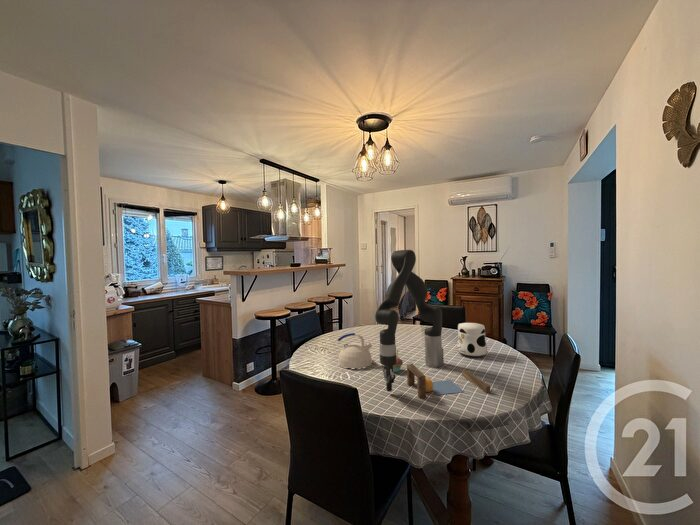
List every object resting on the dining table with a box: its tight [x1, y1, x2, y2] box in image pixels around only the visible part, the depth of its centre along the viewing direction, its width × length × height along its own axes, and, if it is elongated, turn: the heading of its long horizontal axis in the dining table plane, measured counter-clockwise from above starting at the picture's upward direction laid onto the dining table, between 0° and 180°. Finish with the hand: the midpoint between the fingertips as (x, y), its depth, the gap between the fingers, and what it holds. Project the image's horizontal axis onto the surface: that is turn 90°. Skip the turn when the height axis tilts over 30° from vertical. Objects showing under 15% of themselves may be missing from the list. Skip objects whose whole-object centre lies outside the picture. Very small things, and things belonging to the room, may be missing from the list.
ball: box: [425, 377, 434, 393], centre depth 136 cm, size 6×6×6 cm
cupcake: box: [393, 349, 404, 373], centre depth 161 cm, size 9×8×12 cm
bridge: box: [406, 363, 427, 399], centre depth 137 cm, size 3×15×10 cm, turn 10°
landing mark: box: [431, 379, 465, 396], centre depth 139 cm, size 13×13×1 cm
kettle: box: [337, 332, 373, 369], centre depth 175 cm, size 20×21×18 cm
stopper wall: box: [461, 369, 491, 394], centre depth 142 cm, size 2×20×3 cm, turn 9°
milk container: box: [456, 322, 488, 358], centre depth 183 cm, size 17×17×18 cm
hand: (389, 390), depth 135 cm, fingers closed
